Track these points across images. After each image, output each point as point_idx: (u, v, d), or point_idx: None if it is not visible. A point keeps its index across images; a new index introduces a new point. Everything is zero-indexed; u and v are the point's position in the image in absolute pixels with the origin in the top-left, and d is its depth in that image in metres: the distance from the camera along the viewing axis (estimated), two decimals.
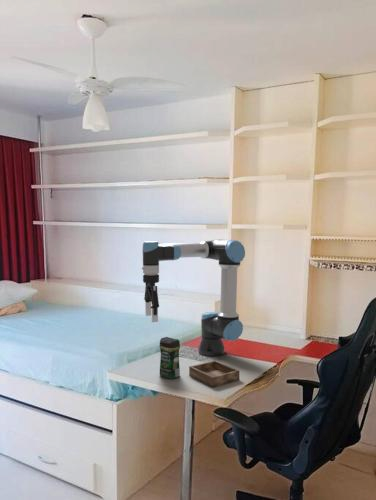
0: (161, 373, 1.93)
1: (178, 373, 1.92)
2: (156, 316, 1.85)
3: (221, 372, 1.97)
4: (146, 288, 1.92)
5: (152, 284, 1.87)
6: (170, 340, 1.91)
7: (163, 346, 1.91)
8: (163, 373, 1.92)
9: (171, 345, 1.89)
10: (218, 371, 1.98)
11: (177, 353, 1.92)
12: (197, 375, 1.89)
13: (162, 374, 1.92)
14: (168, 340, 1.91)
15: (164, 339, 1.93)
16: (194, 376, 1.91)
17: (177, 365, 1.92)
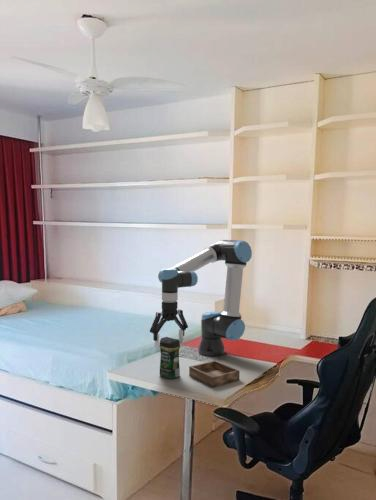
0: (161, 373, 1.93)
1: (178, 373, 1.92)
2: (157, 342, 1.89)
3: (221, 372, 1.97)
4: None
5: (162, 310, 1.91)
6: (170, 340, 1.91)
7: (163, 346, 1.91)
8: (163, 373, 1.92)
9: (171, 345, 1.89)
10: (218, 371, 1.98)
11: (177, 353, 1.92)
12: (197, 375, 1.89)
13: (162, 374, 1.92)
14: (168, 340, 1.91)
15: (164, 339, 1.93)
16: (194, 376, 1.91)
17: (177, 365, 1.92)
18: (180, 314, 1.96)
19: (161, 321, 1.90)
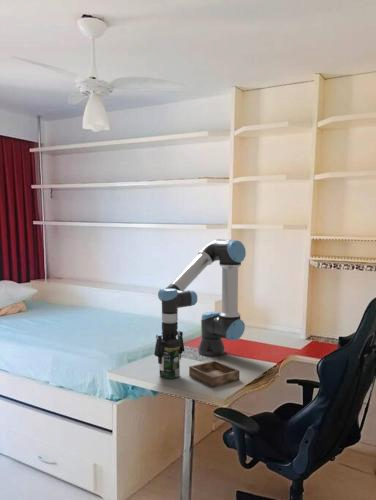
0: (161, 373, 1.93)
1: (178, 373, 1.92)
2: (161, 365, 1.91)
3: (221, 372, 1.97)
4: None
5: (162, 332, 1.91)
6: (170, 340, 1.91)
7: None
8: (163, 373, 1.92)
9: (171, 345, 1.89)
10: (218, 371, 1.98)
11: (177, 353, 1.92)
12: (197, 375, 1.89)
13: (162, 374, 1.92)
14: None
15: None
16: (194, 376, 1.91)
17: (177, 365, 1.92)
18: (179, 335, 1.96)
19: None
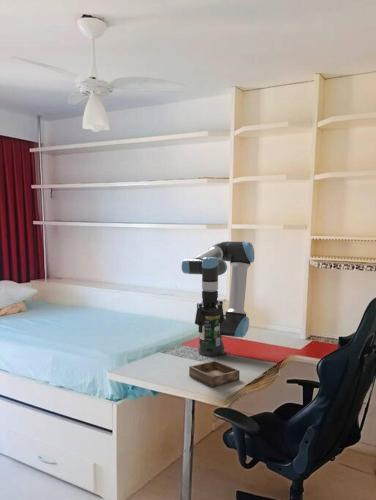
0: (201, 342, 1.90)
1: (218, 342, 1.89)
2: (202, 334, 1.88)
3: (221, 372, 1.97)
4: None
5: None
6: (211, 309, 1.88)
7: None
8: (203, 342, 1.89)
9: (212, 313, 1.86)
10: (218, 371, 1.98)
11: (217, 321, 1.89)
12: (197, 375, 1.89)
13: (202, 343, 1.90)
14: (209, 309, 1.88)
15: (204, 308, 1.90)
16: (194, 376, 1.91)
17: (217, 334, 1.89)
18: (219, 305, 1.93)
19: None
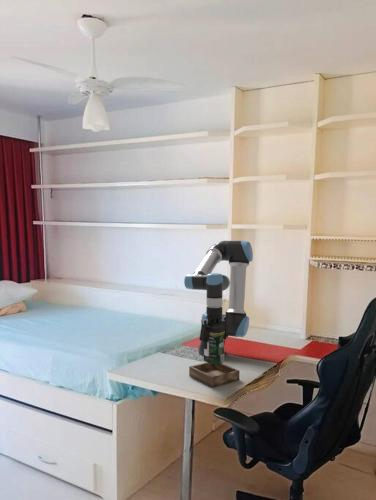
0: (206, 359, 1.90)
1: (223, 359, 1.90)
2: (206, 350, 1.88)
3: (221, 372, 1.97)
4: None
5: (207, 317, 1.88)
6: (215, 325, 1.88)
7: None
8: (207, 359, 1.89)
9: (217, 330, 1.86)
10: (218, 371, 1.98)
11: (222, 338, 1.89)
12: (197, 375, 1.89)
13: (207, 360, 1.89)
14: None
15: None
16: (194, 376, 1.91)
17: (222, 350, 1.89)
18: (224, 321, 1.93)
19: None
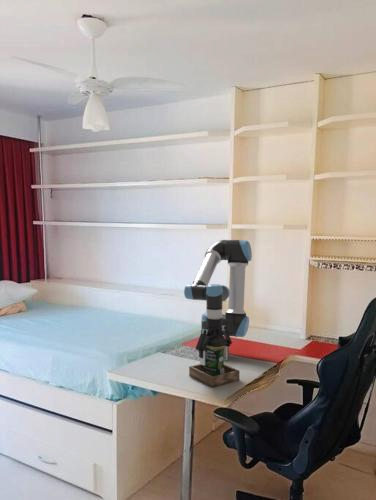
0: (205, 372, 1.91)
1: (223, 373, 1.90)
2: (202, 359, 1.87)
3: None
4: None
5: (207, 327, 1.89)
6: (215, 339, 1.89)
7: (208, 345, 1.89)
8: (207, 372, 1.90)
9: (217, 344, 1.87)
10: None
11: (222, 352, 1.89)
12: (197, 375, 1.89)
13: (206, 373, 1.90)
14: (214, 339, 1.89)
15: None
16: (194, 376, 1.91)
17: (222, 364, 1.90)
18: (224, 330, 1.94)
19: (206, 338, 1.89)
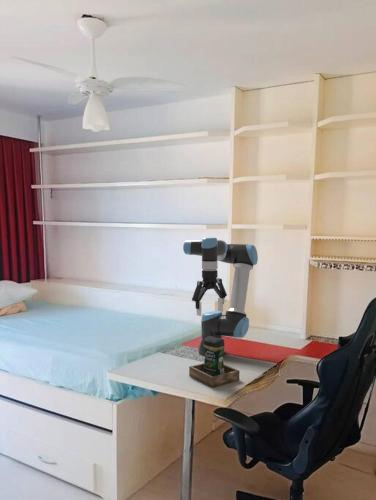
0: None
1: (223, 373, 1.90)
2: (199, 310, 1.91)
3: None
4: None
5: (203, 279, 1.93)
6: (215, 339, 1.89)
7: (208, 346, 1.89)
8: (207, 373, 1.90)
9: (216, 344, 1.87)
10: None
11: (221, 352, 1.89)
12: (197, 375, 1.89)
13: None
14: (213, 340, 1.89)
15: (208, 338, 1.91)
16: (194, 376, 1.91)
17: (222, 365, 1.90)
18: (219, 282, 1.98)
19: (202, 289, 1.92)
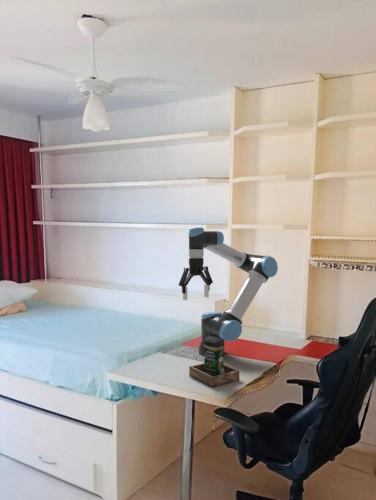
0: None
1: (223, 373, 1.90)
2: (185, 295, 2.04)
3: None
4: None
5: (190, 266, 2.06)
6: (215, 339, 1.89)
7: (208, 346, 1.89)
8: (207, 373, 1.90)
9: (216, 344, 1.87)
10: None
11: (221, 352, 1.89)
12: (197, 375, 1.89)
13: None
14: (213, 340, 1.89)
15: (208, 338, 1.91)
16: (194, 376, 1.91)
17: (222, 365, 1.90)
18: (206, 270, 2.11)
19: (189, 275, 2.06)
